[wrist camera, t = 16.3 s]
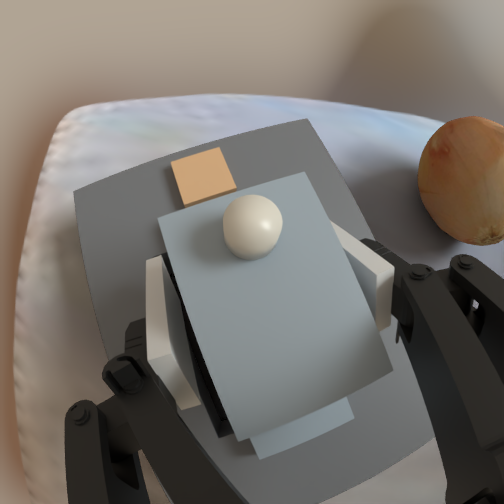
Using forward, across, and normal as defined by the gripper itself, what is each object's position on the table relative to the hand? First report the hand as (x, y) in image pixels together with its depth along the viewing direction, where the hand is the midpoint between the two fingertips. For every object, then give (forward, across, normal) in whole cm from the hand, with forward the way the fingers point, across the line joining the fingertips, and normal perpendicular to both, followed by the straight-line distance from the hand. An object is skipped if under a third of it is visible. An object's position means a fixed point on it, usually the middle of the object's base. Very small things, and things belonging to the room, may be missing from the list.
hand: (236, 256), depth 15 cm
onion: (+4, +19, -4) cm, 19 cm away
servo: (+2, 0, -6) cm, 6 cm away
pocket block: (+2, 0, -6) cm, 6 cm away
